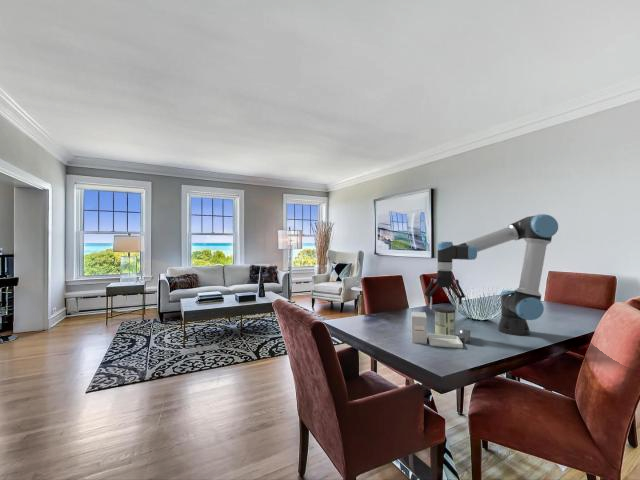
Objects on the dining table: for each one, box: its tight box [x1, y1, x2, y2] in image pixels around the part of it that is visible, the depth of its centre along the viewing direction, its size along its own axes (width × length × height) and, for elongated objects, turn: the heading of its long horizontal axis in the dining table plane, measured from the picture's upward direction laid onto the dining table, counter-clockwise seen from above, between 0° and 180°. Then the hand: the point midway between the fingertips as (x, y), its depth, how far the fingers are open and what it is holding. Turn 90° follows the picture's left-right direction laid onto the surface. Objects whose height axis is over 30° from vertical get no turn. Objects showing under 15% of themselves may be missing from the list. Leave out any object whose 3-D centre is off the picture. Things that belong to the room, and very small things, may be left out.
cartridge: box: [458, 328, 471, 345], centre depth 156 cm, size 5×5×6 cm
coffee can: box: [434, 306, 456, 336], centre depth 169 cm, size 10×10×14 cm
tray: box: [427, 333, 464, 349], centre depth 156 cm, size 15×15×2 cm
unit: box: [410, 311, 428, 345], centre depth 160 cm, size 7×12×13 cm, turn 165°
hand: (444, 309), depth 169 cm, fingers open, 13 cm apart
